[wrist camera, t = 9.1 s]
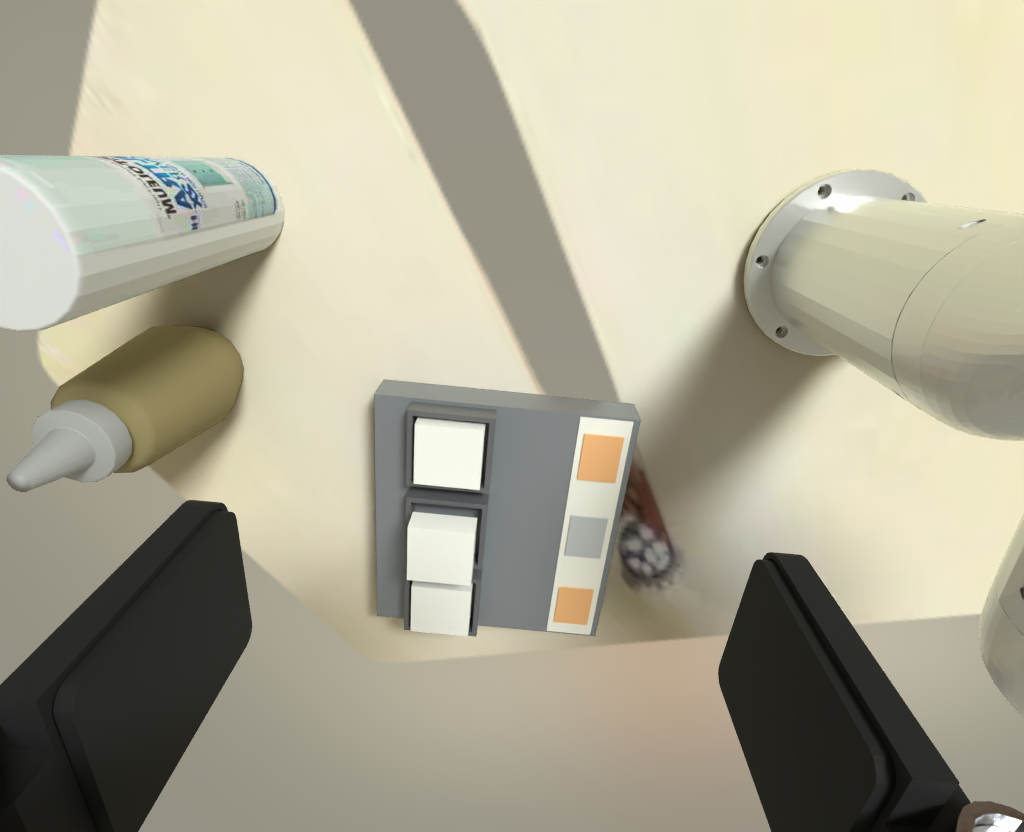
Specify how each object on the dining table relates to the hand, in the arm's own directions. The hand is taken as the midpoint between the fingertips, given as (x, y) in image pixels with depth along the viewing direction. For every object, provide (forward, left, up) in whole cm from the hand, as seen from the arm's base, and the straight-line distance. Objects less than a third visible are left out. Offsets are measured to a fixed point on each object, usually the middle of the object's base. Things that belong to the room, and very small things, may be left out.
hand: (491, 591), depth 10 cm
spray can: (+20, -2, -34) cm, 39 cm away
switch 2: (+4, +21, -28) cm, 35 cm away
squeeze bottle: (+24, +10, -34) cm, 42 cm away
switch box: (0, +21, -33) cm, 39 cm away
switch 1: (+4, +13, -30) cm, 33 cm away
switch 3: (+4, +28, -30) cm, 41 cm away
